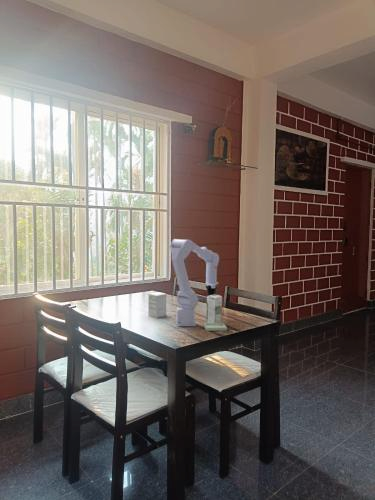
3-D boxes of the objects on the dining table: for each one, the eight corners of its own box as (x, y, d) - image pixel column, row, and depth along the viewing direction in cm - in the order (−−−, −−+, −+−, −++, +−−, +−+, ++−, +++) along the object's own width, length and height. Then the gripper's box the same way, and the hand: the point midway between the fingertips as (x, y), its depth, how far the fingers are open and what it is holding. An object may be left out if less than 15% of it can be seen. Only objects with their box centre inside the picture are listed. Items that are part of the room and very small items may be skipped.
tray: (206, 330, 177) (206, 327, 177) (203, 325, 186) (203, 322, 186) (226, 330, 178) (226, 327, 178) (223, 325, 187) (223, 322, 187)
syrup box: (213, 321, 194) (213, 294, 193) (221, 323, 190) (222, 295, 189) (206, 323, 190) (206, 295, 189) (214, 325, 186) (215, 297, 185)
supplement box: (158, 313, 209) (158, 291, 208) (166, 316, 203) (166, 293, 203) (147, 315, 204) (148, 293, 203) (156, 318, 198) (156, 295, 197)
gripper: (221, 276, 193) (220, 301, 194) (216, 272, 207) (215, 296, 208) (207, 276, 192) (207, 301, 193) (203, 272, 206) (203, 296, 207)
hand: (210, 299), depth 200 cm, fingers closed
